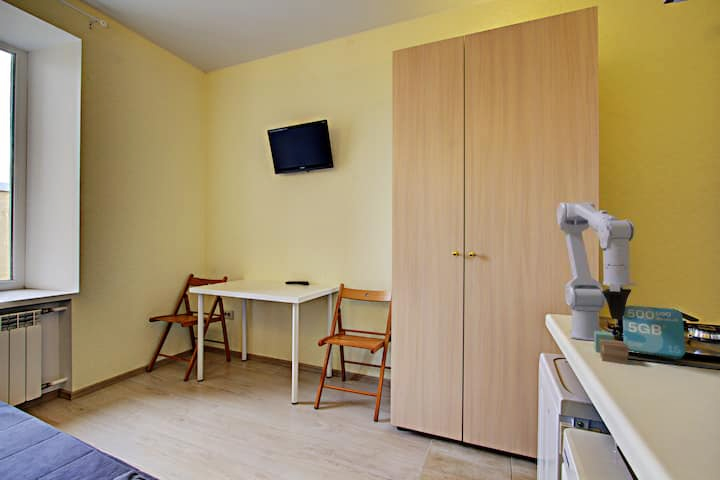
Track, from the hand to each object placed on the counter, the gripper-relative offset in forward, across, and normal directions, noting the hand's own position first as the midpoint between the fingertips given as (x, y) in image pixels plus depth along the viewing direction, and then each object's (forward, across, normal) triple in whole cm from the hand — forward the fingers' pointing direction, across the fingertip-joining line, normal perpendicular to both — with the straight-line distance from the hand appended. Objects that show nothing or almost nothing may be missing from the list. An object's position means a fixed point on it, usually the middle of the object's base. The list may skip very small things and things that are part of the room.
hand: (617, 317), depth 92 cm
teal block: (+10, +3, +4) cm, 11 cm away
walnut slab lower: (+10, -4, +1) cm, 11 cm away
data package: (+9, +3, -7) cm, 12 cm away
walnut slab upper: (+8, -5, +1) cm, 9 cm away
